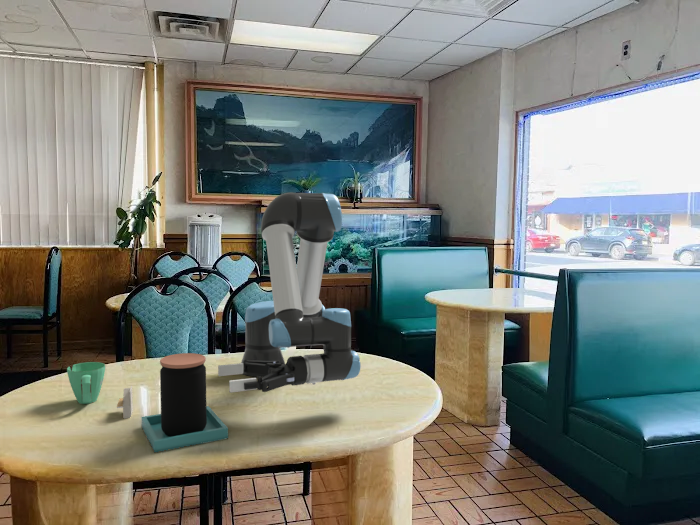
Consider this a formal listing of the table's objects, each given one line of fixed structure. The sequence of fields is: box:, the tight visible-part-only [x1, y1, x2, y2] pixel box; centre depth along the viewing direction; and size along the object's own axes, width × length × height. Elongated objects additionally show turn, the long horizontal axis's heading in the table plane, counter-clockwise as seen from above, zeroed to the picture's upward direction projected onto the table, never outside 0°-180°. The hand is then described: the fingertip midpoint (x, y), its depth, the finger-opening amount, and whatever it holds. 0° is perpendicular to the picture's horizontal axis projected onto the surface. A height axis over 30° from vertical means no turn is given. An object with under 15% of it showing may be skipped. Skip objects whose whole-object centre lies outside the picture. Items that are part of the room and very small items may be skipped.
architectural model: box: [116, 385, 134, 419], centre depth 150 cm, size 3×7×7 cm, turn 17°
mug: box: [66, 361, 106, 405], centre depth 157 cm, size 15×10×10 cm
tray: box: [140, 405, 229, 453], centre depth 138 cm, size 17×17×3 cm
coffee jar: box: [159, 352, 207, 437], centre depth 137 cm, size 11×11×18 cm
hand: (223, 378), depth 141 cm, fingers open, 13 cm apart
